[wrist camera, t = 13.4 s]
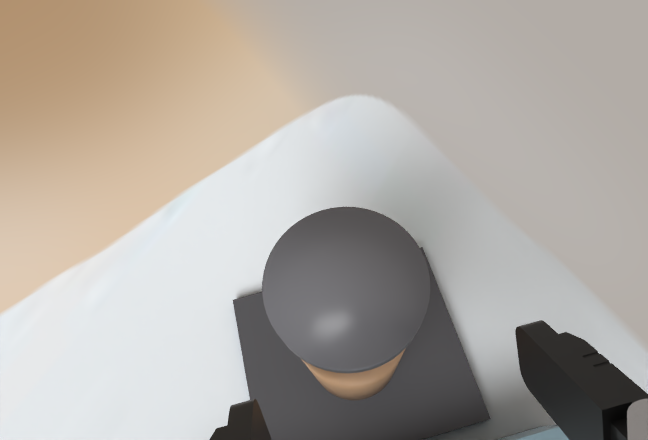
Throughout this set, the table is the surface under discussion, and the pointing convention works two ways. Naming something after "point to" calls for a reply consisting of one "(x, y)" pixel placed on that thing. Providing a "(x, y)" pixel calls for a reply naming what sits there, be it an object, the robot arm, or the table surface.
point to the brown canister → (347, 297)
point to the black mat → (371, 413)
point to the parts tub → (539, 434)
